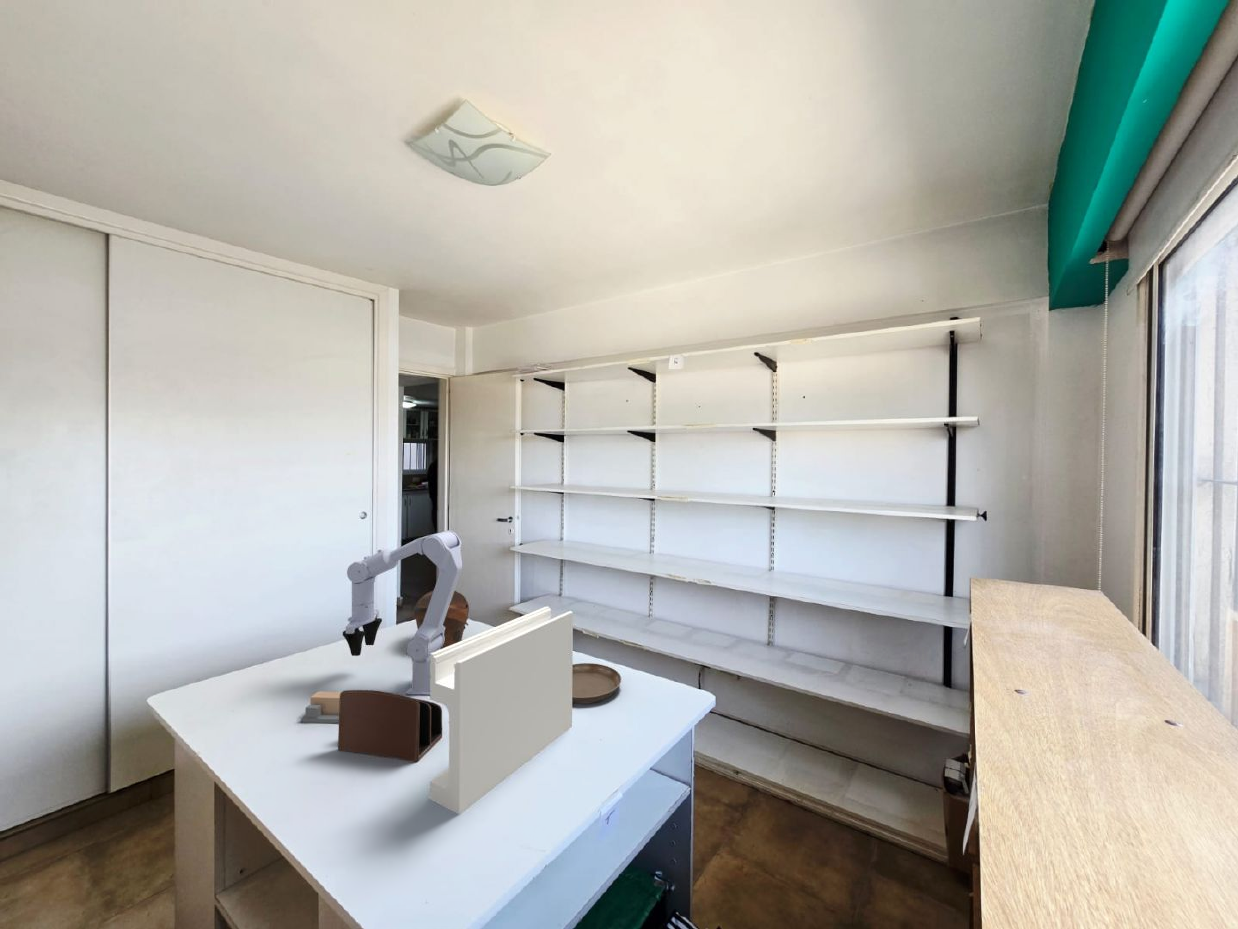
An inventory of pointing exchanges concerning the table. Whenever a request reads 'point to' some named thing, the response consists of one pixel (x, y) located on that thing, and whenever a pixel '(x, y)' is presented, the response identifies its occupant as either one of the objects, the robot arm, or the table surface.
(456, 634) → the case
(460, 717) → the white panel with ledge
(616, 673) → the plant saucer
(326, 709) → the light brown rectangular bar
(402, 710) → the letter holder
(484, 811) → the table surface
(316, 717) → the plate with corner studs
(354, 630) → the robot arm
